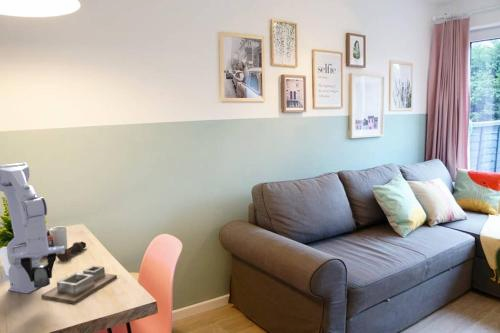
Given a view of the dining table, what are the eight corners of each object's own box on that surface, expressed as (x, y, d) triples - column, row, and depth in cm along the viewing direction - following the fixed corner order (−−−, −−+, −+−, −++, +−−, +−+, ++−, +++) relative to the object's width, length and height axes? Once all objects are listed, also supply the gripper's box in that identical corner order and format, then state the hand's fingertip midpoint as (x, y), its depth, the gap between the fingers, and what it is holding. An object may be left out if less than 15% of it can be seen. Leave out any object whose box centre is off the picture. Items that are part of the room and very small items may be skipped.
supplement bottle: (43, 254, 165) (40, 229, 163) (57, 253, 165) (54, 228, 164) (36, 259, 159) (33, 233, 157) (51, 258, 159) (48, 232, 158)
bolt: (85, 252, 171) (65, 264, 156) (76, 247, 171) (54, 258, 156) (90, 241, 170) (70, 252, 155) (81, 236, 170) (60, 246, 155)
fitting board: (41, 297, 124) (40, 286, 123) (86, 273, 142) (86, 263, 142) (74, 303, 119) (73, 291, 119) (116, 277, 138) (116, 267, 137)
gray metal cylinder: (30, 286, 117) (28, 268, 116) (43, 280, 121) (40, 263, 120) (41, 288, 115) (39, 270, 115) (53, 282, 119) (51, 264, 119)
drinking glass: (71, 248, 171) (69, 227, 169) (57, 253, 165) (55, 231, 164) (63, 246, 174) (61, 225, 173) (49, 250, 169) (46, 229, 167)
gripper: (7, 245, 110) (12, 288, 111) (62, 237, 115) (66, 278, 117) (10, 238, 116) (16, 279, 118) (63, 230, 122) (67, 270, 124)
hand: (41, 278), depth 118 cm, fingers closed on gray metal cylinder, 4 cm apart
